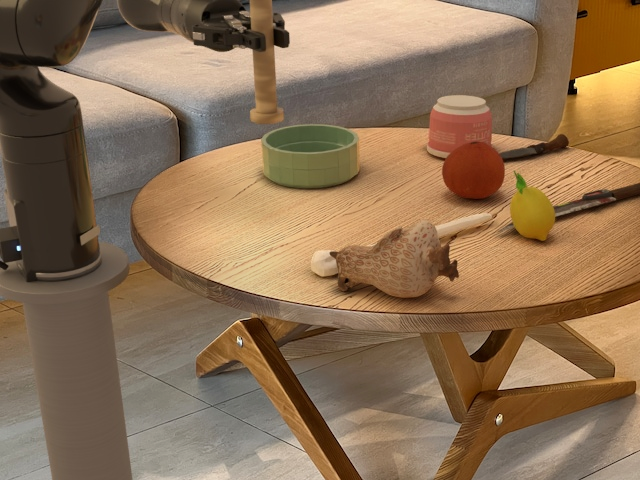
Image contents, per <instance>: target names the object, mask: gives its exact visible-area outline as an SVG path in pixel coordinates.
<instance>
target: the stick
mask: <svg viewBox="0 0 640 480" xmlns="http://www.w3.org/2000/svg"><path fill="white" fill-rule="evenodd" d="M249 12H250V17H251V30H253V31H256V32H259V33H262V34H264V35H265V37H266V51H264V52H258V51H255V50H252V49H251V50H252V66H253V83H254V99H255V100H254V101H255V107H254V108H251V109H250V111H249V120H250V121H251V122H252V123H254V124H258V125H273V124H278V123H281V122H283V121H284V119H285V112H284V109H283V108H282V107H279V106H278V95H277V93H278V92H277V75H276V73H277V72H276V56H275V45H274V32H273V13H274V12H273V0H249Z"/></svg>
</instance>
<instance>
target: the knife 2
mask: <svg viewBox="0 0 640 480" xmlns="http://www.w3.org/2000/svg"><path fill="white" fill-rule="evenodd" d="M637 195H640V182H638V183H633V184H630V185H626V186H622V187H619V188H615V189H607V188H604V189H596V190H594V191H590V192H586V193H584V194H582V197H581V198H578V199H575V200H572V201H571V200H570V201H568V202H564V203H561V204H560V203H559V204H557V205H552V206H553V208H554V211H555V218H556V217H559V216H564V215H567V214H570V213H574V212H578V211H581V210H585V209H589V208H593V207H600V206H605V205H609V204H610V203H611V202H616V201H619V200H622V199H626V198H630V197H633V196H637ZM511 229H516V228H515V226H514V224H513V222H512V221H511V222H509V223H508V224H506V225H505V226H504V227H502V228H501V229H499V230H498V231H497V232H496V233H501V232H505V231H508V230H511Z"/></svg>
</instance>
